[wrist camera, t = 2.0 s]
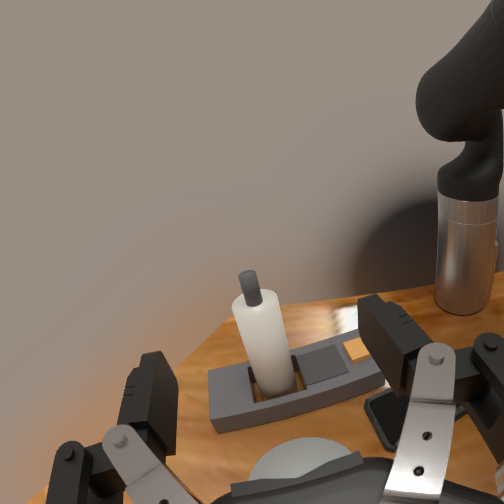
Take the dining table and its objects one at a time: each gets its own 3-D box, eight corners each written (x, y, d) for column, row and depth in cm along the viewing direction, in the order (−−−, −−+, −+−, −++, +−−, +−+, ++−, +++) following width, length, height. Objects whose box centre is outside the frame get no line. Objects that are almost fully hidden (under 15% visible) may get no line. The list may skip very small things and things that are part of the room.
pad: (343, 426, 28) (343, 424, 28) (377, 510, 18) (378, 509, 18) (242, 453, 28) (241, 451, 28) (256, 542, 18) (255, 542, 17)
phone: (498, 389, 23) (389, 452, 23) (495, 395, 24) (387, 457, 23) (463, 350, 31) (361, 399, 30) (461, 356, 31) (360, 404, 30)
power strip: (359, 344, 39) (359, 323, 37) (384, 385, 31) (386, 364, 30) (215, 385, 38) (205, 366, 37) (218, 433, 31) (207, 415, 29)
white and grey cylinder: (293, 376, 37) (266, 258, 30) (301, 401, 33) (275, 279, 26) (259, 385, 37) (222, 270, 30) (265, 411, 33) (224, 293, 26)
